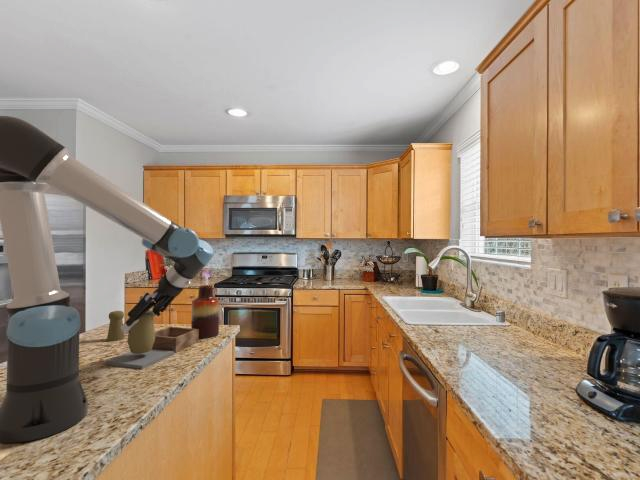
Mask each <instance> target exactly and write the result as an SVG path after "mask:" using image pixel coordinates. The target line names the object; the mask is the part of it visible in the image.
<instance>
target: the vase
mask: <svg viewBox="0 0 640 480" xmlns="http://www.w3.org/2000/svg"><path fill="white" fill-rule="evenodd" d="M190 321H191V326H190V327H191V329H199V340H201V339H211V338H215V337H218V336H219V334H220V299H219V298H217V297H214V286H213V285H199V286H198V295H197V297H196V298H194V299H192V300H191V320H190Z"/></svg>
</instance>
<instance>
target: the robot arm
mask: <svg viewBox="0 0 640 480" xmlns="http://www.w3.org/2000/svg"><path fill="white" fill-rule="evenodd" d="M50 187H52V188H54V189H56V190H57V191H59V192H61V193H63V194H65V195H66V196H69V198H71V199H73V200H75V201H76V202H78V203H81V204H82V205H84V206H86V207H87V208H89V209H91V210H93V211H94V212H96V213H98V214H100V215H101V216H103V217H105V218H106V219H108V220H110V221H112V222H114V223H115V224H117V225H119V226H121V227H122V228H123V229H124V228H125V229H126V230H127V231H129V232H131V233H133V234H135V235H137V236H138V237H140V238H142V240H141V244H142V246H143V247H145V248H147V249H149V250H150V251H151V252H154V253H156V254H158V255H159V256H162V257H164V258H166V259H168V260H170V261H172V262H173V264H172V265H171V266H170V268H169V269H167V271H166V273H164V274H163V275H162V276H161V278H160V279H159V280H158V282H157V288H156V289H155V290H154V291H153V292H152V293H151V294H150V293H149V292H146V293H145V294H144V295H143V296H144V297H143V298H142V299H141V300H140V299H139V300H140V301H138V303H136V304H135V305H134V306H133V307H132V309H130V310H129V312H128V313H127V314H126V315H127V316H128V318H127V320H126V321H125V322H124V323H123V325H122V326H121V327H120V328H121V329H122V331H123V332H124V335H128V333H129V331H130V329H131V328H132V327H133V326H134V325H135V324H136V323H137V322H138V321H139V318H140V317H141V316H142V315H144V314H145V313H146V312H147V311H148V310H149V309H150V312H149V313H152V314H153V319H154V318H155V317H156V316H157V317H160V316H161V315H162V314H161V313H163V312H164V311H166V309H167V308H168V307H169V306H170V304H171V303H172V302H173V301H174V300H175V299H176V298H177V296H179V295H181V293H182V292H183V291H184V290H185V288H186V287H187V286H188V285H190V284H191V282H192V281H193V279H195V277H196V276H197V275H198V274H199V273H200V272H201V271H202V270H203V269H204V268H205V267H206V266H207V265H208V264H209V262H210V261H211V260H212V258H214V255H215V251H214V249H213V247H212V246H211V245H210V244H209V243H208V242H207V241H205V240H203V239H200V238H199V236H198V234H197V233H196V232H195V231H194V230H192V229H190V228H187V227H182V226H181V225H179V224H177V223H176V222H174V221H172V220H171V219H169V218H168V217H166V216H164V215H163V214H162V213H160V212H158V211H156V210H155V209H153V207H151V206H149V205H147V204H146V203H144V202H143V201H141V200H140V199H139V198H137V197H135V196H133V195H132V194H130V193H128V192H127V191H126V190H124V189H122V188H121V187H120V186H118V185H116V184H115V183H113V182H112V181H110V180H109V179H106V177H104V176H102V175H101V174H99V173H98V172H96V171H94V170H93V169H91V168H90V167H88V166H86V165H85V164H84V163H82V162H80V161H79V160H77V159H76V158H74V157H73V156H71V155H70V153H69V150H68V148H67V147H66V146H65V145H62V144H61V143H59V142H58V141H56V139H54V138H52V137H51V136H49V135H48V134H47V133H45V132H44V131H42V130H40V129H39V128H37V127H36V126H34V125H33V124H31V123H30V122H28V121H25V120H24V119H22V118H18V117H14V116H9V115H0V228H1V233H2V239H3V243H4V250H5V255H6V259H7V266H8V272H9V277H10V283H11V288H12V289H11V290H12V294H13V298H12V299H11V301H9V303H8V304H7V305H6V310H7V319H8V324H7V325H8V326H7V328H6V332H5V333H6V336H7V349H6V350H7V354H6V356H7V357H6V387H5V388H6V389H5V390H6V391H5V395H4V398H3V400H2V402H1V404H0V443H3V444H4V443H6V444H13V443H15V444H16V443H23V442H31V441H35V440H39V439H40V440H41V439H43V438H47V437H50V436H53V435H56V434H58V433H61V432H63V431H65V430H67V429H69V428H71V427H73V426H75V425H77V424H78V423H79V422H81V421H82V420H83V419H84V418H85V417H86V416H87V414H88V399H87V397H86V394H85V390H84V389H83V386H82V384H81V381H80V377H79V374H80V373H79V372H80V371H79V370H80V367H79V365H80V329H81V325H82V321H81V318H80V312H79V311H78V310H77V309H76V308H75V307H72V303H71V298H70V297H71V296H70V294H69V292H67V291H64V290H62V289H61V284H60V278H59V272H58V267H57V261H56V260H57V259H56V254H55V250H54V249H55V248H54V242H53V238H52V232H51V225H50V220H49V219H50V218H49V213H48V207H47V202H46V196H45V193H46V191H48V190H49V189H50Z"/></svg>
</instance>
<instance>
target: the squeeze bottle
mask: <svg viewBox="0 0 640 480" xmlns="http://www.w3.org/2000/svg"><path fill="white" fill-rule="evenodd" d="M143 297H144V295H140V297H139V301H140V300H141V299H142V298H143ZM139 301H138V302H139ZM150 310H151V309H149V310H148V311H147V312H146V313H145V314H144V315H142V316H141V317H140V318H139V321H138V322H137V323H136V324H135V325H134V326H133V327H132V328H131V329H130V331H129V332H128V333H127V341H126V342H127V346H128V348H129V352H130V351H131V353H134V354H141V353H146V352H149V351H151V349H152V346H153V344H154V341H155V332H156V330H155V321H154V318H153V314H152V313H149V312H150Z"/></svg>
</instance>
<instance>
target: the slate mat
mask: <svg viewBox="0 0 640 480" xmlns="http://www.w3.org/2000/svg"><path fill="white" fill-rule="evenodd" d="M174 355H175V353H174V351H166V350H157V349H151V351H149V352H146V353H141V354H134V353H131V351H130V350H129V351H128V352H126V353H123V354H120V355H117V356H116V357H112V358H109V359H108V360H105V361H104V365H105V366H106V365H108V366H115V367H121V368H123V367H124V368H129V369H130V368H131V369H137V370H138V369H140V370H143V369H146V368H149V366H152V365H154V364H156V363H159V362H161V361H162V360H165V359H167V358H170V357H171V356H174Z"/></svg>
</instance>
